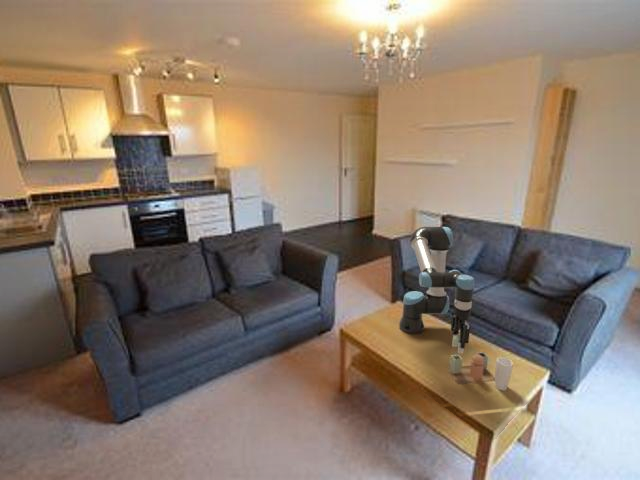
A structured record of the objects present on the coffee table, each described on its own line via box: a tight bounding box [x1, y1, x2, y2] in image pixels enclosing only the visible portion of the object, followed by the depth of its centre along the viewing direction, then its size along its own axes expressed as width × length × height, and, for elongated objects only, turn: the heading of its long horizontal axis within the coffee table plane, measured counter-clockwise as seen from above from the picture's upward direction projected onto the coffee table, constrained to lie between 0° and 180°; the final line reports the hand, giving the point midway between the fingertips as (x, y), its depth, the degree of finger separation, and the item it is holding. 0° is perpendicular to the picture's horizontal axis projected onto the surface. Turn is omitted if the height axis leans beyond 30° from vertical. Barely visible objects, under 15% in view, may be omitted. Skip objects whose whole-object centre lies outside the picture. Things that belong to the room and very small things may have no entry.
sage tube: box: [449, 354, 464, 374], centre depth 169 cm, size 4×4×8 cm
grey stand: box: [475, 351, 489, 371], centre depth 170 cm, size 4×4×8 cm
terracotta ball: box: [471, 354, 484, 365], centre depth 162 cm, size 5×5×5 cm
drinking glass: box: [494, 356, 514, 391], centre depth 157 cm, size 7×7×15 cm
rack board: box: [445, 364, 495, 385], centre depth 168 cm, size 12×20×1 cm, turn 97°
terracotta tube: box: [470, 360, 484, 381], centre depth 164 cm, size 4×4×8 cm
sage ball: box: [452, 334, 460, 345], centre depth 165 cm, size 5×5×5 cm
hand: (457, 349), depth 166 cm, fingers closed on sage ball, 5 cm apart
